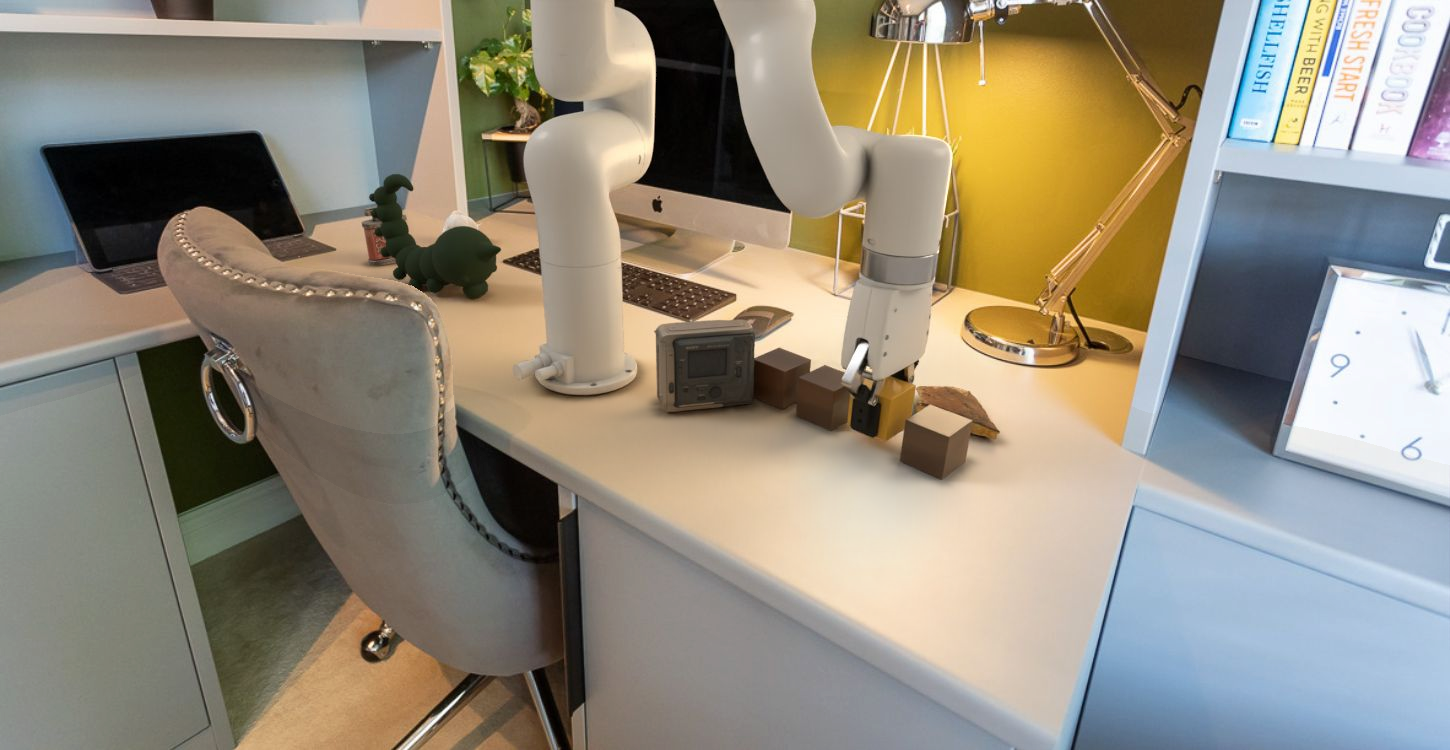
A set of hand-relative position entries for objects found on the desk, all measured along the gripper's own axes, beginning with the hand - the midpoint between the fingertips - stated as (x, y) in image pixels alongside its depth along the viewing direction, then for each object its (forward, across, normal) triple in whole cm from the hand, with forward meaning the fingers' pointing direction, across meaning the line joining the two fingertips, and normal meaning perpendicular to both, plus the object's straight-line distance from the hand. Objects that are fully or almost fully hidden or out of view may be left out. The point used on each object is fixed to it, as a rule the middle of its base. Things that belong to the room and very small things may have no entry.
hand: (878, 422), depth 86 cm
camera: (+2, +8, -19) cm, 21 cm away
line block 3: (+2, 0, +7) cm, 7 cm away
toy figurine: (+2, +10, -76) cm, 77 cm away
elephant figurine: (+2, -6, -98) cm, 98 cm away
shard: (+2, -12, +4) cm, 13 cm away
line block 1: (+2, 0, -14) cm, 14 cm away
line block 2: (+2, 0, -7) cm, 7 cm away
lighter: (+2, +9, -97) cm, 97 cm away
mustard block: (0, 0, 0) cm, 0 cm away
